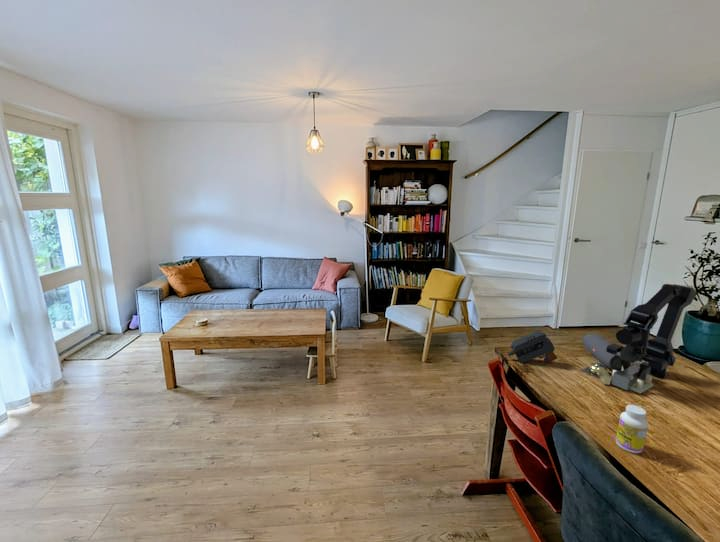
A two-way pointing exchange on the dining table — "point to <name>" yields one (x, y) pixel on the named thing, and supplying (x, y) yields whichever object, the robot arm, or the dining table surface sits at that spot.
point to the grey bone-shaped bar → (629, 376)
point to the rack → (639, 383)
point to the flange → (592, 373)
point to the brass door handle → (600, 372)
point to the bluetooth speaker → (602, 351)
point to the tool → (533, 347)
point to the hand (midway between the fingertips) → (631, 375)
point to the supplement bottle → (632, 429)
